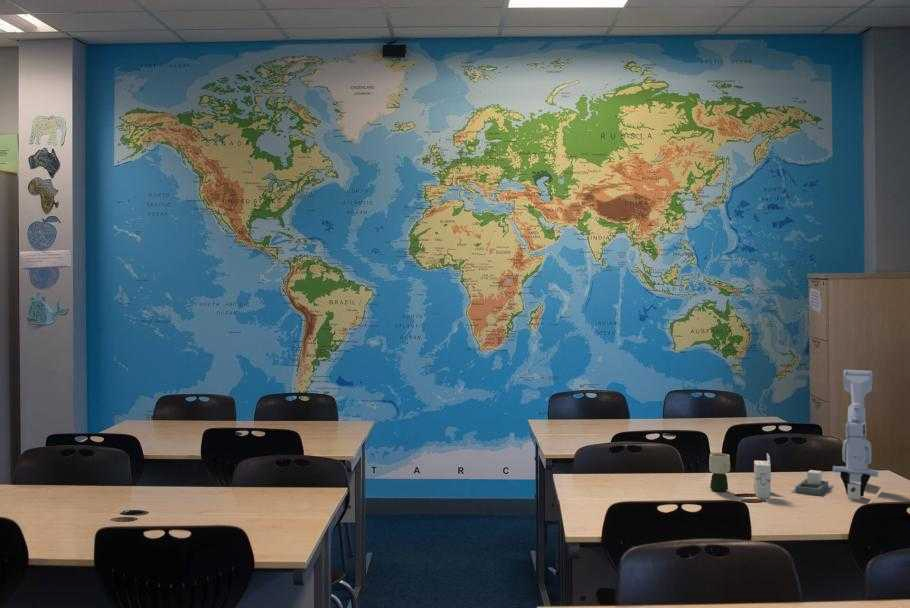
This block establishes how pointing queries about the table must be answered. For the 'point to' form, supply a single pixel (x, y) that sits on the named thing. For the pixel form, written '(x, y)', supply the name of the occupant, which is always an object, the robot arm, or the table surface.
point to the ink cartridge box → (762, 478)
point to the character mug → (719, 470)
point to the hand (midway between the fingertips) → (854, 494)
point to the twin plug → (814, 477)
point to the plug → (854, 490)
